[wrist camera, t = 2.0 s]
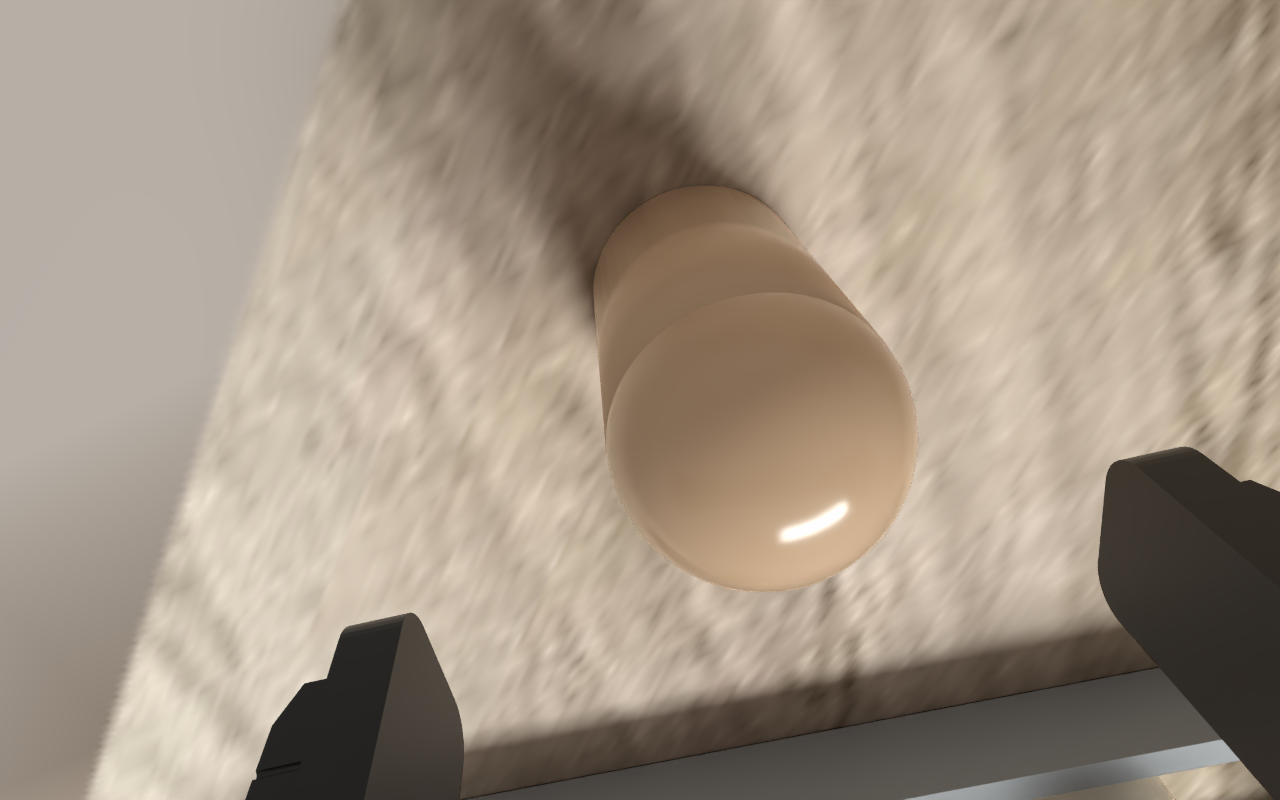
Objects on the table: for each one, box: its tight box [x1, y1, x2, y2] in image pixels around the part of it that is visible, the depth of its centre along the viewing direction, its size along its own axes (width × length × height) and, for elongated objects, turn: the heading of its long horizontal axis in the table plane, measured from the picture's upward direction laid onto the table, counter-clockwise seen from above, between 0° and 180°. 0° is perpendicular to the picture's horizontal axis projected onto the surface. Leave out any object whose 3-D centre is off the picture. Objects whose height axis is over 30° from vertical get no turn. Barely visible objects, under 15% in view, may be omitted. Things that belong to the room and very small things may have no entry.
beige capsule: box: [593, 185, 918, 592], centre depth 14 cm, size 4×4×8 cm
